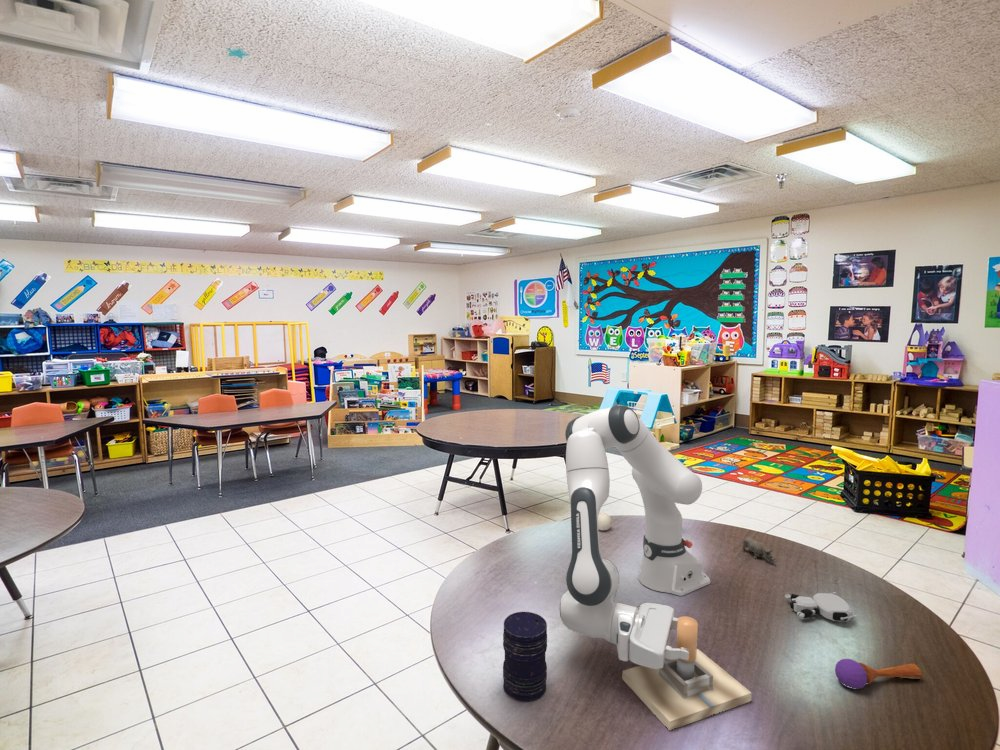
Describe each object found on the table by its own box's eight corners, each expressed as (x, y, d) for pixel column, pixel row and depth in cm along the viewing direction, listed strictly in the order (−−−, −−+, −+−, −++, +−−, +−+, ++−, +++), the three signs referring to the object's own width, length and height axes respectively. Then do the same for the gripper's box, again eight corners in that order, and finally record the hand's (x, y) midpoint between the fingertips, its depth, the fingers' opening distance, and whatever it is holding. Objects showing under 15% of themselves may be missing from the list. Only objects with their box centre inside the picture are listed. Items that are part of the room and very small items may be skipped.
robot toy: (798, 627, 138) (859, 629, 135) (798, 611, 138) (859, 613, 135) (782, 603, 150) (838, 604, 147) (782, 588, 150) (838, 590, 147)
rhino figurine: (769, 568, 170) (770, 551, 169) (739, 551, 183) (739, 535, 182) (779, 566, 171) (780, 549, 170) (748, 549, 184) (748, 533, 183)
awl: (685, 672, 115) (688, 614, 114) (699, 684, 111) (702, 624, 110) (671, 677, 114) (673, 618, 112) (684, 689, 110) (686, 629, 109)
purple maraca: (931, 672, 113) (853, 674, 110) (922, 693, 115) (845, 696, 112) (907, 650, 119) (833, 652, 116) (899, 671, 121) (825, 673, 117)
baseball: (598, 524, 206) (598, 508, 206) (614, 529, 202) (614, 513, 201) (589, 529, 201) (590, 513, 200) (606, 534, 196) (606, 518, 196)
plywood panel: (697, 656, 124) (698, 637, 124) (751, 701, 109) (752, 679, 109) (622, 678, 116) (622, 658, 116) (669, 730, 101) (670, 707, 101)
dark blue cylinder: (514, 708, 107) (514, 642, 106) (495, 678, 116) (496, 617, 115) (554, 694, 111) (555, 630, 110) (534, 667, 120) (534, 607, 119)
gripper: (635, 615, 127) (694, 630, 121) (617, 664, 108) (686, 684, 102) (636, 591, 126) (695, 605, 120) (618, 637, 108) (687, 655, 102)
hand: (691, 642), depth 111 cm, fingers open, 8 cm apart
